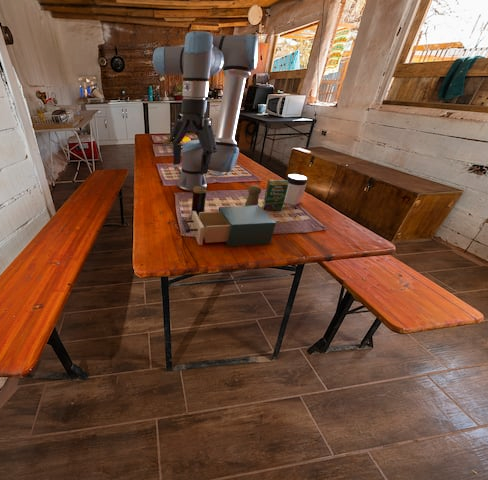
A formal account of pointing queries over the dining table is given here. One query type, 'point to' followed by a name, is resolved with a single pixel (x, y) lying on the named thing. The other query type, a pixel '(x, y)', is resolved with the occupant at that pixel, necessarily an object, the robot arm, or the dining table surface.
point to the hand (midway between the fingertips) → (189, 168)
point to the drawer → (208, 227)
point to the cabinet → (248, 225)
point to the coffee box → (275, 194)
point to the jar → (295, 189)
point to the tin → (198, 199)
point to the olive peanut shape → (253, 195)
